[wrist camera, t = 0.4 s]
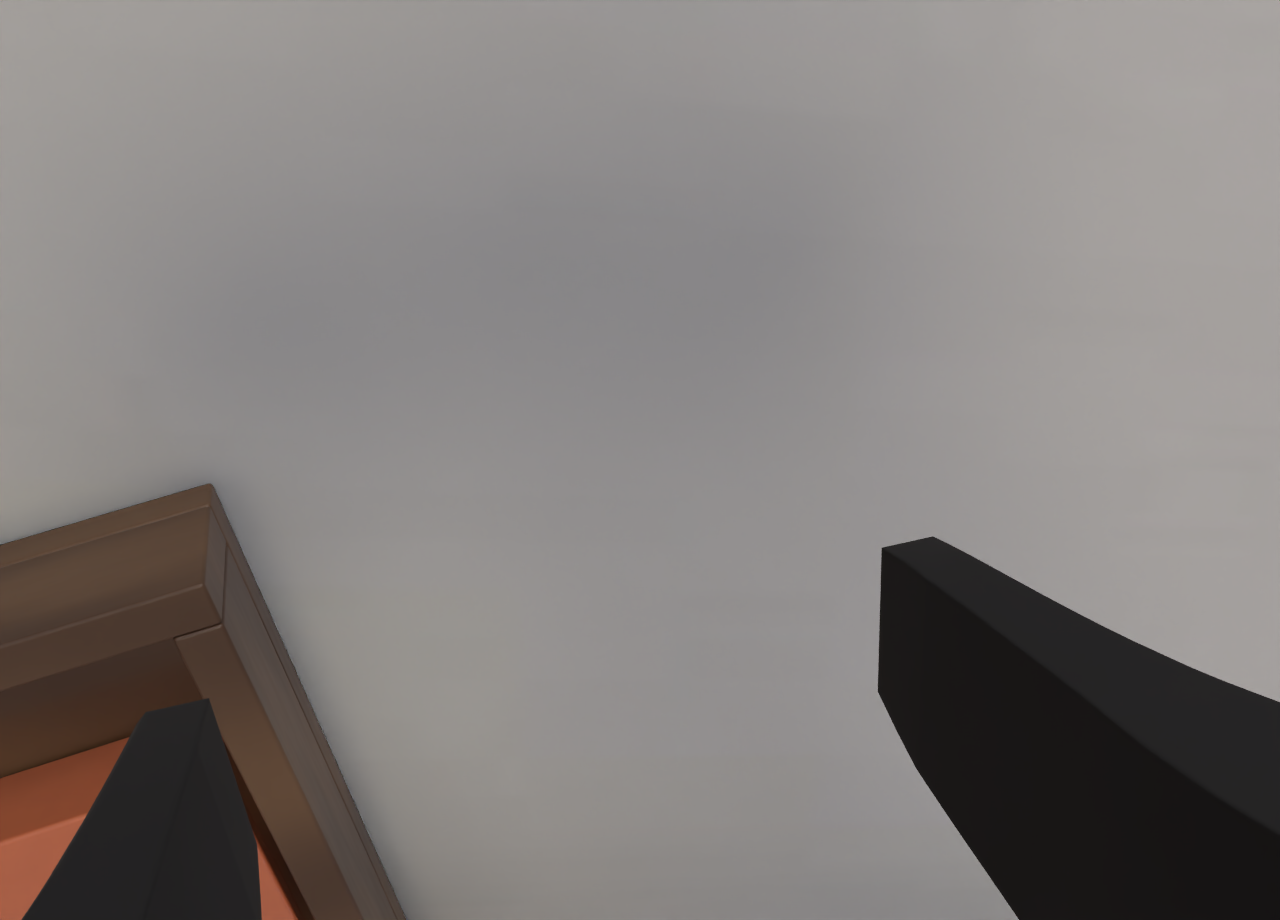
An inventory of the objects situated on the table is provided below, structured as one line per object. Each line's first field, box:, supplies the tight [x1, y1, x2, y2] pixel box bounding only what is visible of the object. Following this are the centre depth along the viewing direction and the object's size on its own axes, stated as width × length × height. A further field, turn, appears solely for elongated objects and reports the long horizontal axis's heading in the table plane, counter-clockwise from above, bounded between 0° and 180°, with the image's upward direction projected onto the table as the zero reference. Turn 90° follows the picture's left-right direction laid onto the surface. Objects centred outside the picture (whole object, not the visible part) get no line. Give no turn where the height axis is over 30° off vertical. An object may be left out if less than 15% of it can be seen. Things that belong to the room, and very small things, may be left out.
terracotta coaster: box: [0, 736, 315, 920], centre depth 23 cm, size 6×6×2 cm
